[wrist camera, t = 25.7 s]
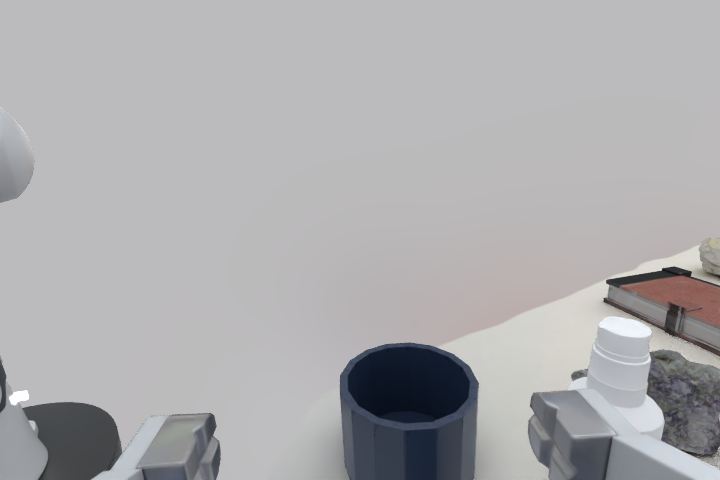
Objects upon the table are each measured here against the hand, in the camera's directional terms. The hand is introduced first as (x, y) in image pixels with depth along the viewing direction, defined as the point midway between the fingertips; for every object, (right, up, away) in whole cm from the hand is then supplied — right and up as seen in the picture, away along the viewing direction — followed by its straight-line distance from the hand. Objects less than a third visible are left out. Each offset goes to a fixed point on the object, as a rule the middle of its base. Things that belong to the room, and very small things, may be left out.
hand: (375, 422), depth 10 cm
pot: (+5, -18, +31) cm, 36 cm away
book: (+58, -10, +53) cm, 80 cm away
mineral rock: (+32, -17, +34) cm, 49 cm away
